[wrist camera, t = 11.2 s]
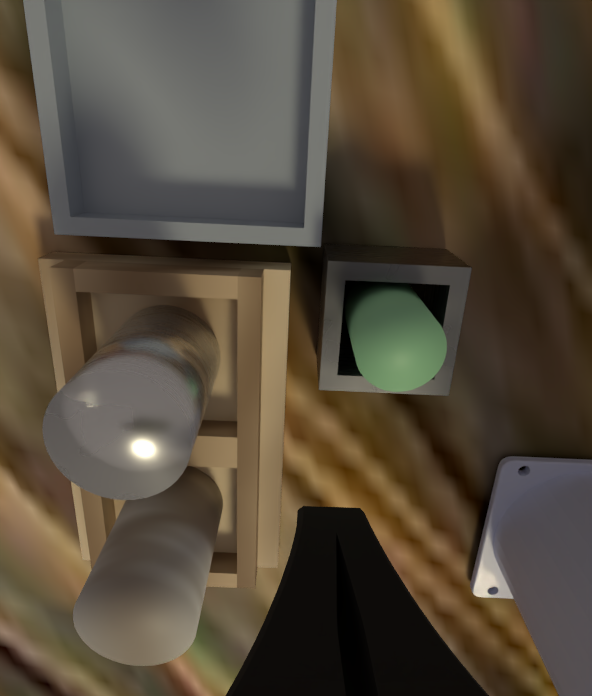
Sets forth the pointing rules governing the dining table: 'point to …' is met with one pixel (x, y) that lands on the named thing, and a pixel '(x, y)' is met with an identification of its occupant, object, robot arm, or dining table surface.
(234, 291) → the light brown divided box
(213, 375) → the cylinder
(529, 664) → the dining table surface
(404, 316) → the button
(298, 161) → the tray
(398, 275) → the switch box
